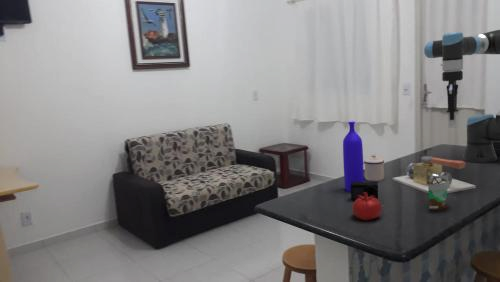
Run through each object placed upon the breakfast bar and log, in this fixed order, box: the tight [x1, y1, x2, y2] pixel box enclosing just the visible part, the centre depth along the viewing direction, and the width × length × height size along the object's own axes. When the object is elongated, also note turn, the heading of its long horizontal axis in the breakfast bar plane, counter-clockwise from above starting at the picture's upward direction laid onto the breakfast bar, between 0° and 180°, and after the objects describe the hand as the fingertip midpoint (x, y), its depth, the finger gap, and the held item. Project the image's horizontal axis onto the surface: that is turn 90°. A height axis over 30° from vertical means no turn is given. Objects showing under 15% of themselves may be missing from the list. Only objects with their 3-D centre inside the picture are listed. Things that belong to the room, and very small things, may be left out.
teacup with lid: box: [363, 154, 385, 182], centre depth 186 cm, size 12×9×12 cm
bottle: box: [342, 120, 365, 193], centre depth 170 cm, size 8×8×30 cm
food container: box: [428, 176, 450, 211], centre depth 143 cm, size 12×6×10 cm, turn 148°
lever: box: [420, 155, 466, 170], centre depth 163 cm, size 18×5×2 cm, turn 31°
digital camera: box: [350, 181, 379, 202], centre depth 158 cm, size 10×5×7 cm, turn 71°
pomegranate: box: [351, 192, 383, 221], centre depth 140 cm, size 10×10×9 cm
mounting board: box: [392, 174, 477, 194], centre depth 171 cm, size 20×27×1 cm
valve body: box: [405, 161, 453, 186], centre depth 170 cm, size 8×20×9 cm, turn 16°
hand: (452, 127), depth 167 cm, fingers closed
